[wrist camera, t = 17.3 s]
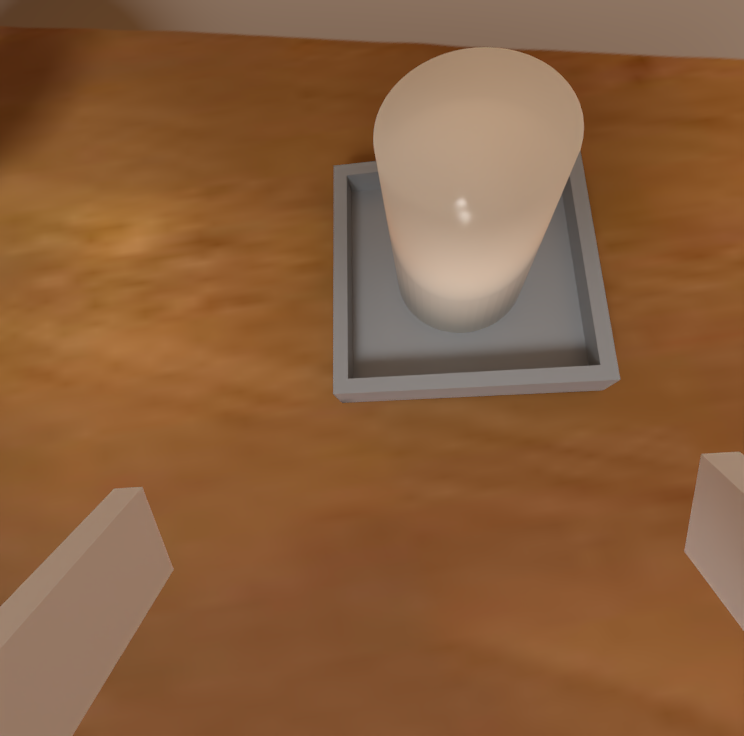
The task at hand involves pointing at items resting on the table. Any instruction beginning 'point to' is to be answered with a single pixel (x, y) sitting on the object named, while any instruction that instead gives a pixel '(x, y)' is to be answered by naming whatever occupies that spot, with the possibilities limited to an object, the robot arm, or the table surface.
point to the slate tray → (471, 349)
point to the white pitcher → (473, 178)
